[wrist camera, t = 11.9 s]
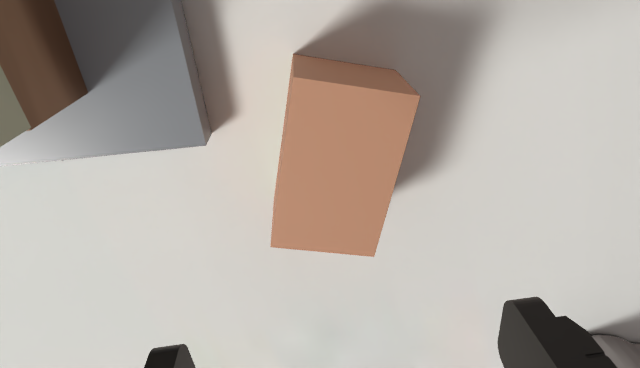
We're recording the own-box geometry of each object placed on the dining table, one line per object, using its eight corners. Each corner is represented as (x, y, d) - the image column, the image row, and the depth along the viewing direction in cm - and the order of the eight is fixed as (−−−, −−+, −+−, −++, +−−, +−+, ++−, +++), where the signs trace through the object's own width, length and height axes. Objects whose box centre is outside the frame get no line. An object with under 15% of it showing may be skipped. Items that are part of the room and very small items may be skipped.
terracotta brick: (394, 69, 20) (420, 96, 16) (360, 207, 23) (373, 256, 20) (293, 53, 19) (293, 76, 15) (274, 197, 23) (270, 246, 19)
